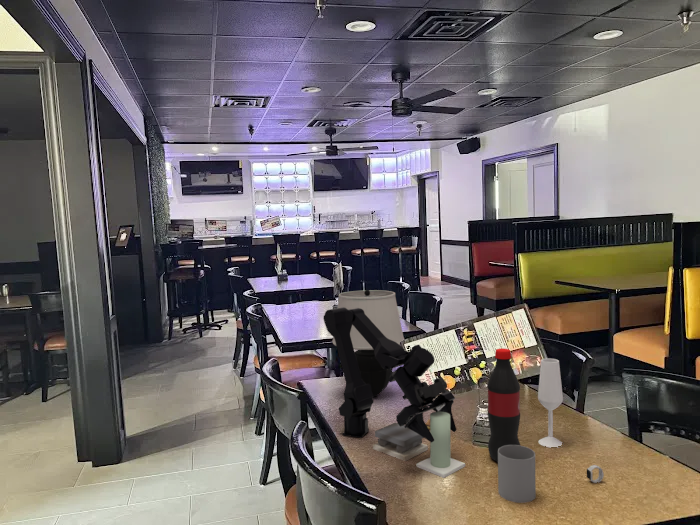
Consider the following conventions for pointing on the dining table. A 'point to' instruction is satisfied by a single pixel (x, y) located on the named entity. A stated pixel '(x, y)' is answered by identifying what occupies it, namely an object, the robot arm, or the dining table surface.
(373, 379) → the table lamp
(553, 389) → the champagne flute
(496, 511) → the dining table surface
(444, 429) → the roller
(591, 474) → the smartwatch
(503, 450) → the cup
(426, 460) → the pad
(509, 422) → the cola bottle
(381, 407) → the dining table surface
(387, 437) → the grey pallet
